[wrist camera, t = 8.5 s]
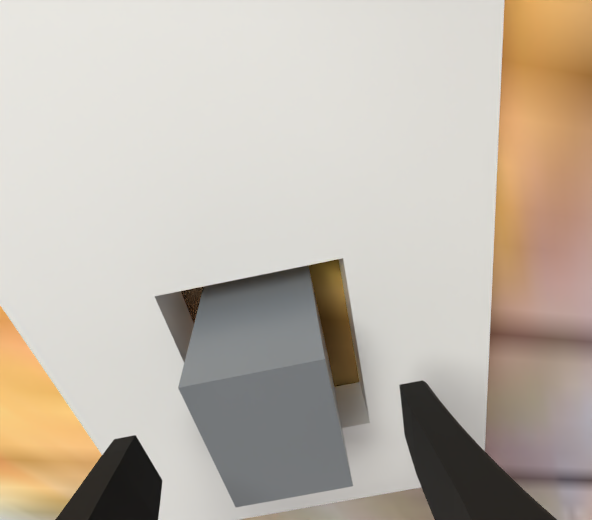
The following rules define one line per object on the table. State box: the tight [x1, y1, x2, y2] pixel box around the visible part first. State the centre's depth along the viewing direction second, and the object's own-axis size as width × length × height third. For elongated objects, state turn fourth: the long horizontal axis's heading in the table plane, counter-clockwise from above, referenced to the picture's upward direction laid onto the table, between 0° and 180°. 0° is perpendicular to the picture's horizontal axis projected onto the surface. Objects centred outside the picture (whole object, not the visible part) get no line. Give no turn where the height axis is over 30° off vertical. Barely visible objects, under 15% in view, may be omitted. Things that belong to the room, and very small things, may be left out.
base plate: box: [0, 0, 504, 520], centre depth 13 cm, size 20×14×2 cm
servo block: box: [178, 265, 353, 507], centre depth 13 cm, size 5×4×5 cm
